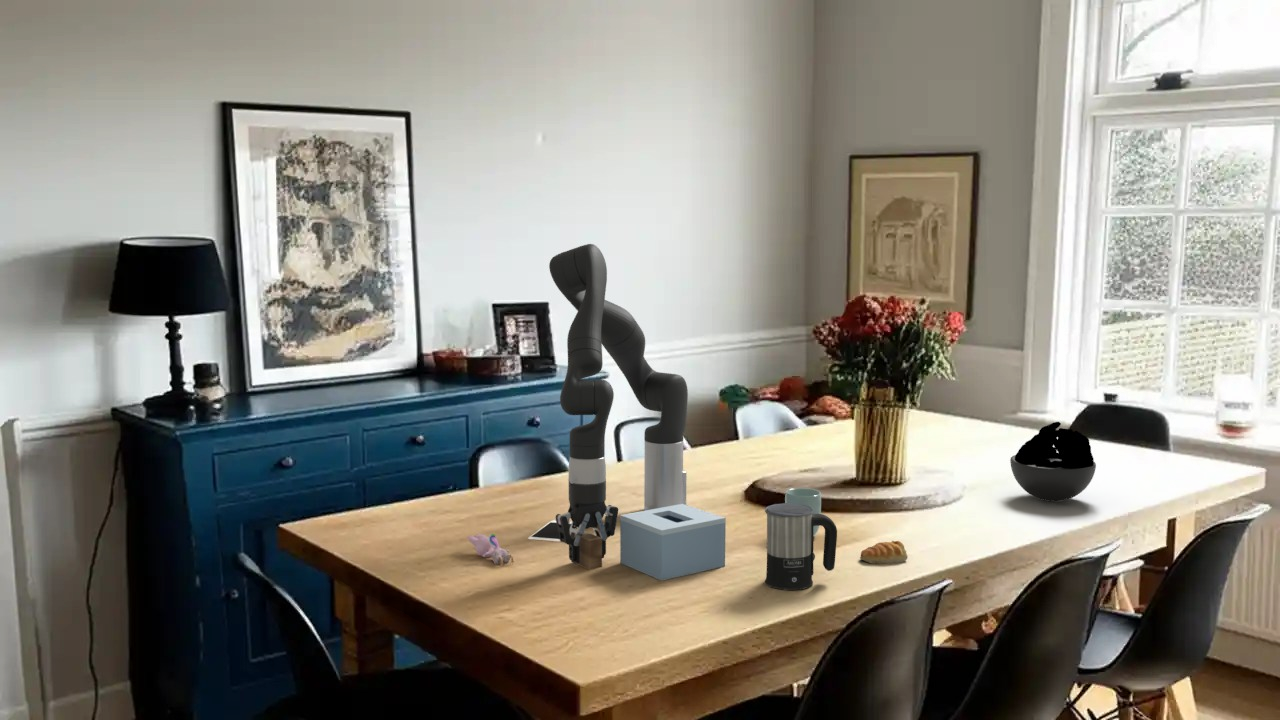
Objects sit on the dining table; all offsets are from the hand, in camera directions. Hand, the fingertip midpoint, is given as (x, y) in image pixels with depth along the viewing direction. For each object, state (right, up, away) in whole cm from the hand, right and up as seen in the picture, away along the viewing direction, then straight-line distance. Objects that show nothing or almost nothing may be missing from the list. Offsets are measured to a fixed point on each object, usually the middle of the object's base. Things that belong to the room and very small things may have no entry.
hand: (587, 559), depth 237 cm
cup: (+46, +1, +21) cm, 51 cm away
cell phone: (-8, +2, +25) cm, 26 cm away
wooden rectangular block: (0, -1, 0) cm, 1 cm away
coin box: (+17, -1, 0) cm, 17 cm away
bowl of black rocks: (+113, +5, +54) cm, 125 cm away
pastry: (+61, -1, +4) cm, 61 cm away
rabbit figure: (-21, -1, +5) cm, 21 cm away
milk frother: (+40, -2, -8) cm, 41 cm away
